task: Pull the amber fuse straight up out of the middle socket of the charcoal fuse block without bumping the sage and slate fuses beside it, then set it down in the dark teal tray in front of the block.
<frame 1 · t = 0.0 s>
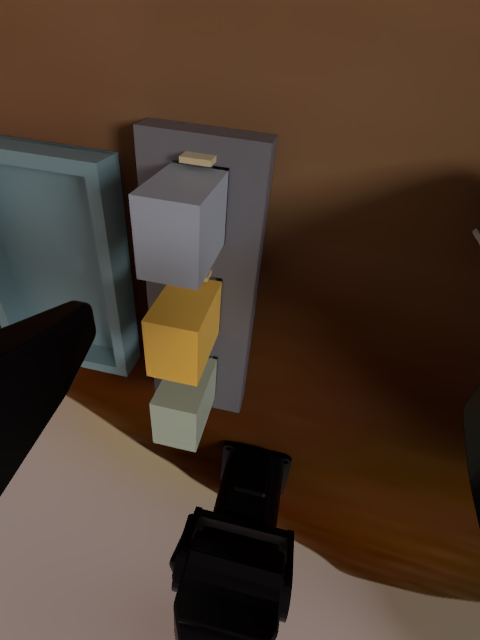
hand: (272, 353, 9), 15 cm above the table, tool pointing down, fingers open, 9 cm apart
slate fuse: (210, 192, 22), resting in fuse block
fuse block: (206, 286, 26), on the table
amber fuse: (206, 286, 26), resting in fuse block
parts tray: (65, 260, 27), on the table
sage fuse: (204, 355, 30), resting in fuse block
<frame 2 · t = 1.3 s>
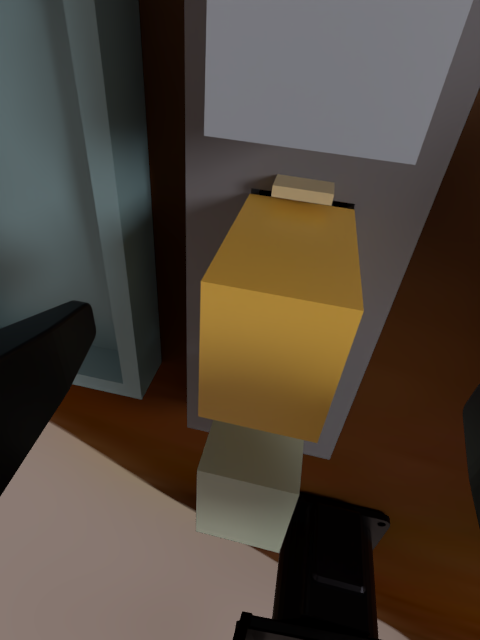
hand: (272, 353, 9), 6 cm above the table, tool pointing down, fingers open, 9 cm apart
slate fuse: (339, 1, 10), resting in fuse block
fuse block: (296, 234, 14), on the table
amber fuse: (296, 234, 14), resting in fuse block
parts tray: (31, 191, 15), on the table
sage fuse: (272, 362, 18), resting in fuse block
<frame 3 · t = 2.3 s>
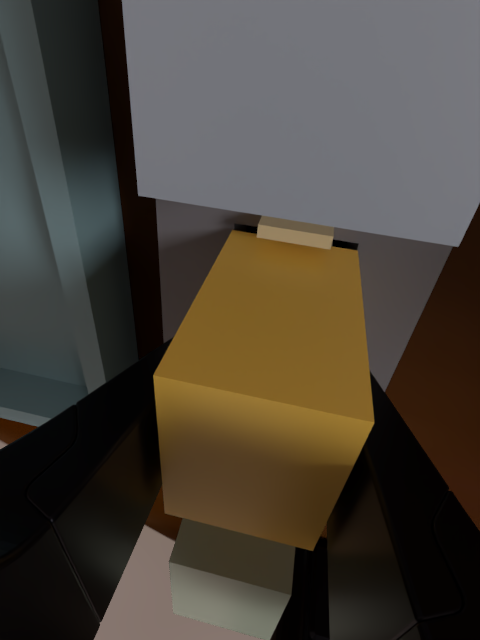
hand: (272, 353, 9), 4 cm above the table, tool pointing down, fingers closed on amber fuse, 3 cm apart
fuse block: (289, 269, 12), on the table
amber fuse: (289, 268, 12), resting in fuse block, touching gripper
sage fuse: (264, 403, 16), resting in fuse block
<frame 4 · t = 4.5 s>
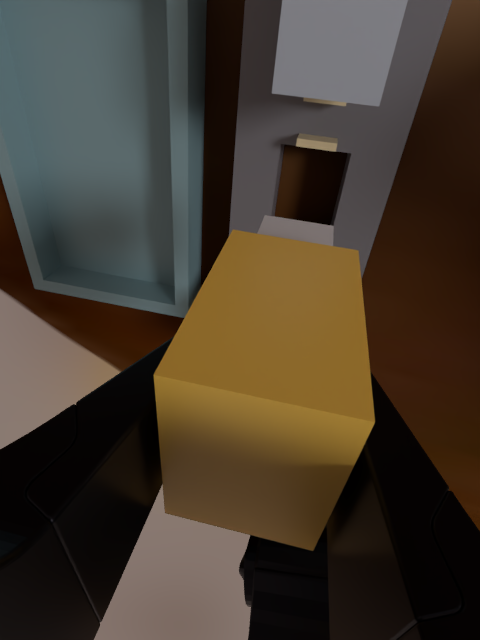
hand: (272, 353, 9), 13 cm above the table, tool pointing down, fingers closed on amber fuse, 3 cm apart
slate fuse: (340, 18, 15), resting in fuse block
fuse block: (309, 184, 19), on the table
amber fuse: (289, 268, 12), point 9 cm above the table, touching gripper
parts tray: (112, 154, 20), on the table
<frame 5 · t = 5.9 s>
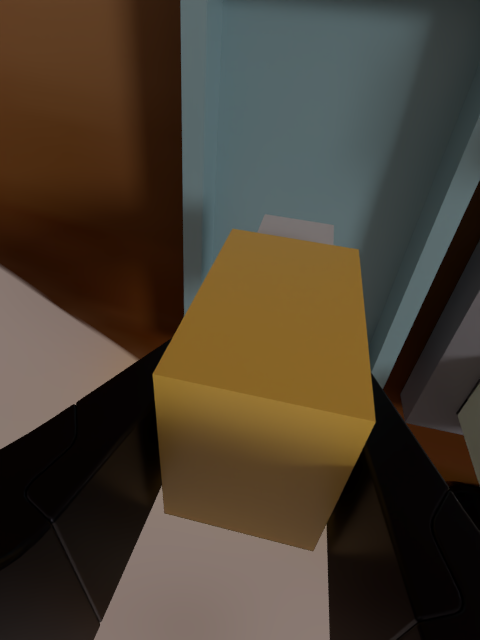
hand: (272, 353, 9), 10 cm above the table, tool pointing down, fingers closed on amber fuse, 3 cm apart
amber fuse: (289, 268, 12), point 6 cm above the table, touching gripper
parts tray: (313, 205, 16), on the table
when the fingers open (6 cm above the table, at t = 6.7 s): amber fuse drops 1 cm, resting on parts tray.
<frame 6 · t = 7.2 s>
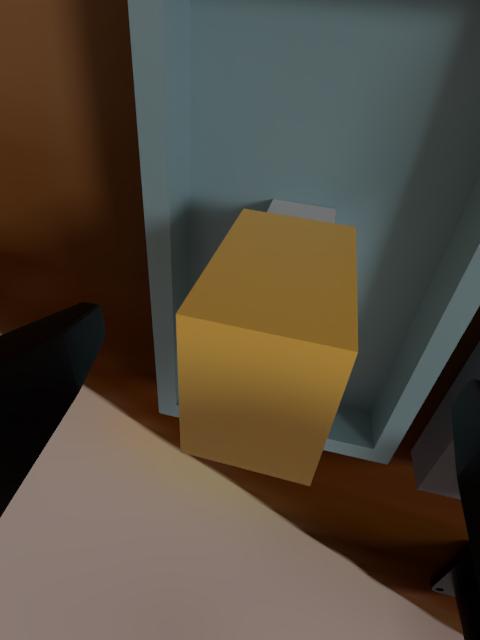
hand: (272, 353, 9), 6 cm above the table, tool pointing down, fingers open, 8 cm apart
amber fuse: (296, 249, 13), point 1 cm above the table, touching parts tray
parts tray: (308, 244, 13), on the table
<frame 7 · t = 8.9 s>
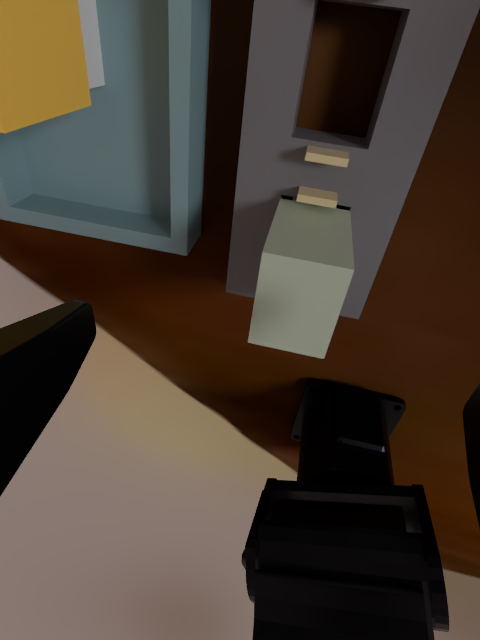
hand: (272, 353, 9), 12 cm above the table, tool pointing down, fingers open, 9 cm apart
fuse block: (343, 74, 15), on the table
amber fuse: (76, 36, 15), point 1 cm above the table, touching parts tray
parts tray: (93, 37, 16), on the table
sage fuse: (307, 226, 19), resting in fuse block
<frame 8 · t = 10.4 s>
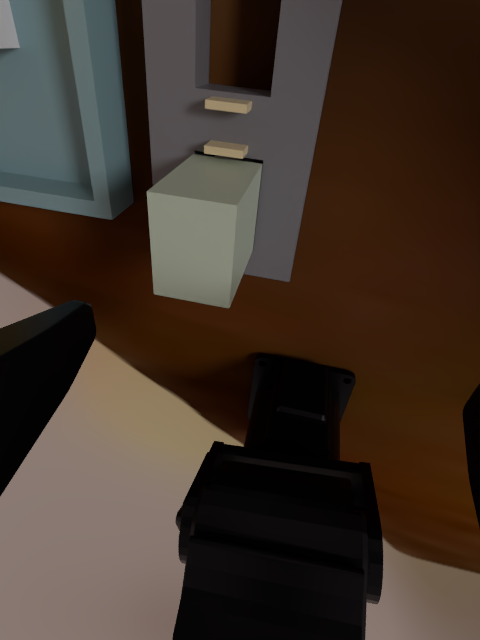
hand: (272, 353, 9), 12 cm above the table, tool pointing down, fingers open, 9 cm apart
fuse block: (247, 25, 15), on the table
parts tray: (6, 1, 16), on the table
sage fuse: (235, 189, 19), resting in fuse block
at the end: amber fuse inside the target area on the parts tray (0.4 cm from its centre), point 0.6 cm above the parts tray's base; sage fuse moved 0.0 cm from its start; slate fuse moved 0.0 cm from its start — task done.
